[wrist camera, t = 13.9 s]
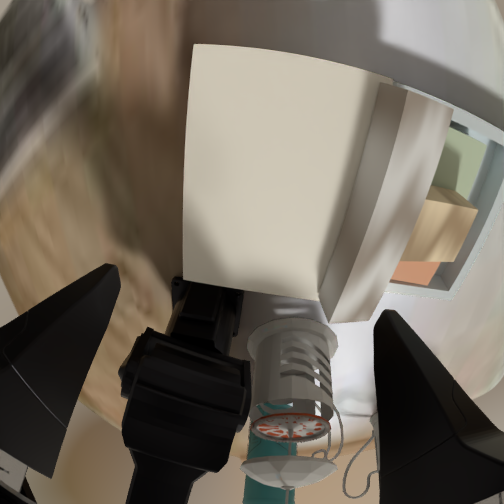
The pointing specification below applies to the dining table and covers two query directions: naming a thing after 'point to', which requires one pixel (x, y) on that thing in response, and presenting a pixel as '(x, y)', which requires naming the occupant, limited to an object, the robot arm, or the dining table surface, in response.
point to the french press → (292, 399)
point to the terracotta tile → (415, 271)
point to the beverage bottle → (255, 493)
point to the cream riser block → (270, 166)
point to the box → (481, 196)
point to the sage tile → (459, 162)
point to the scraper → (394, 205)
